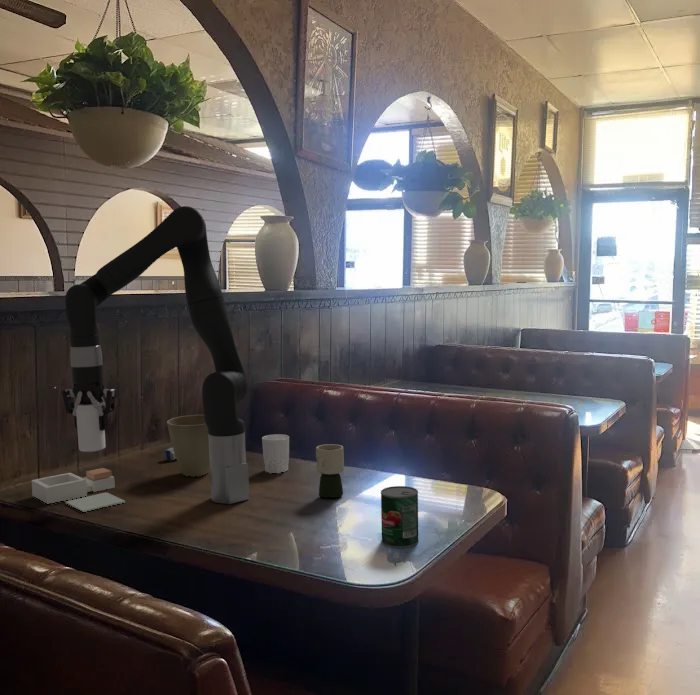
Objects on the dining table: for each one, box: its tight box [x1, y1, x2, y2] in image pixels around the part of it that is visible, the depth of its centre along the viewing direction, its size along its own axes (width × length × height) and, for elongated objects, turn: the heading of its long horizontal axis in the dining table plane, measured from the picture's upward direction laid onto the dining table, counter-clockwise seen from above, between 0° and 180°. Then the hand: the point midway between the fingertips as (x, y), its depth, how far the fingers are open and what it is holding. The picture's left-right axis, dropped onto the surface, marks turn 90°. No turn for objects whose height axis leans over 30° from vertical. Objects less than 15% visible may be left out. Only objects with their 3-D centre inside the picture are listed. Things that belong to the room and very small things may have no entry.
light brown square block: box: [85, 467, 113, 480], centre depth 207 cm, size 5×5×4 cm
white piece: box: [31, 472, 116, 504], centre depth 202 cm, size 10×19×4 cm, turn 132°
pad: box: [64, 492, 126, 513], centre depth 193 cm, size 11×11×1 cm
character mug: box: [315, 443, 345, 499], centre depth 193 cm, size 11×7×13 cm, turn 152°
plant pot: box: [166, 414, 210, 478], centre depth 218 cm, size 15×15×16 cm
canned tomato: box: [380, 485, 419, 549], centre depth 160 cm, size 8×8×11 cm
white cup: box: [261, 433, 290, 474], centre depth 220 cm, size 8×8×10 cm
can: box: [76, 402, 107, 453], centre depth 191 cm, size 6×6×12 cm
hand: (91, 429), depth 191 cm, fingers closed on can, 6 cm apart
